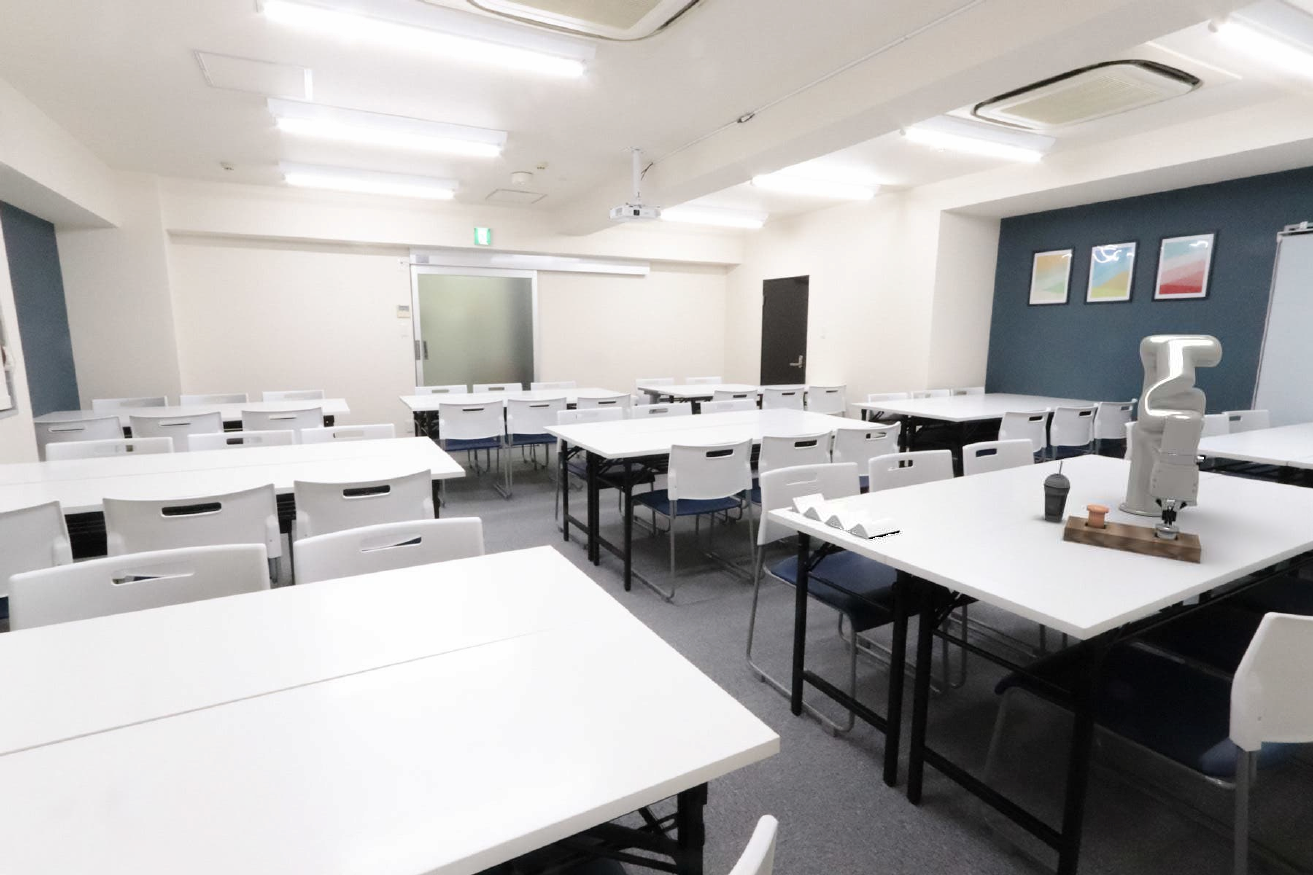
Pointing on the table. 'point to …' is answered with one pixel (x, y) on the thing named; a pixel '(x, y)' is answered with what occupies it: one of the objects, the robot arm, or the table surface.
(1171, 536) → the grey plunger
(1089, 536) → the button board
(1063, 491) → the beverage cup
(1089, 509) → the terracotta plunger
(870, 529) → the file organizer
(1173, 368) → the robot arm
